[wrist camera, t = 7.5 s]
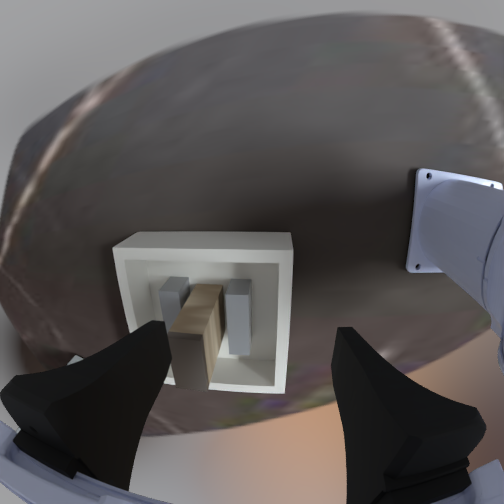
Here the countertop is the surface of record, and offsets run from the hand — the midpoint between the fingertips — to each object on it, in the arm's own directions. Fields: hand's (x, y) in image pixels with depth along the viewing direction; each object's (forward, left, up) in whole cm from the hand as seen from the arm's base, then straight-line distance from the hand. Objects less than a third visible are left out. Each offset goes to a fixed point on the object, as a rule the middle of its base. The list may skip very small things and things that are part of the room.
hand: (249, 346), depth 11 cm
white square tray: (+4, +4, -10) cm, 12 cm away
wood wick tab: (+4, +4, -10) cm, 11 cm away
